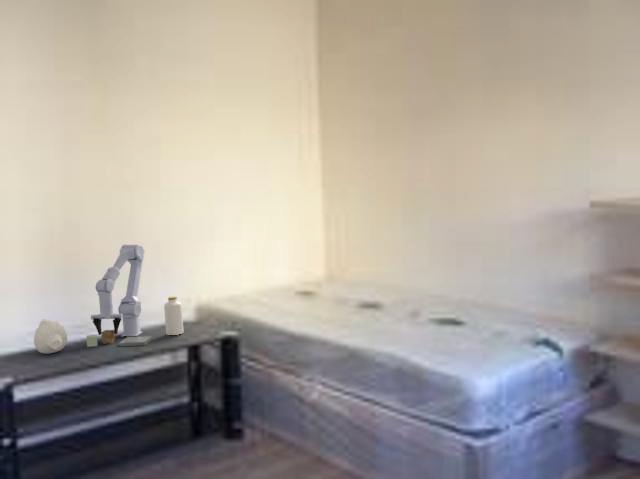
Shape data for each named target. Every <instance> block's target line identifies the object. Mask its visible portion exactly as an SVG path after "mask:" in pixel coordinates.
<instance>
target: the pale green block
mask: <svg viewBox="0 0 640 479" xmlns="http://www.w3.org/2000/svg"><path fill="white" fill-rule="evenodd" d="M86 346H87V347H88V348H89V347H97V346H98V334H89V335H88V334H87V335H86Z"/></svg>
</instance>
